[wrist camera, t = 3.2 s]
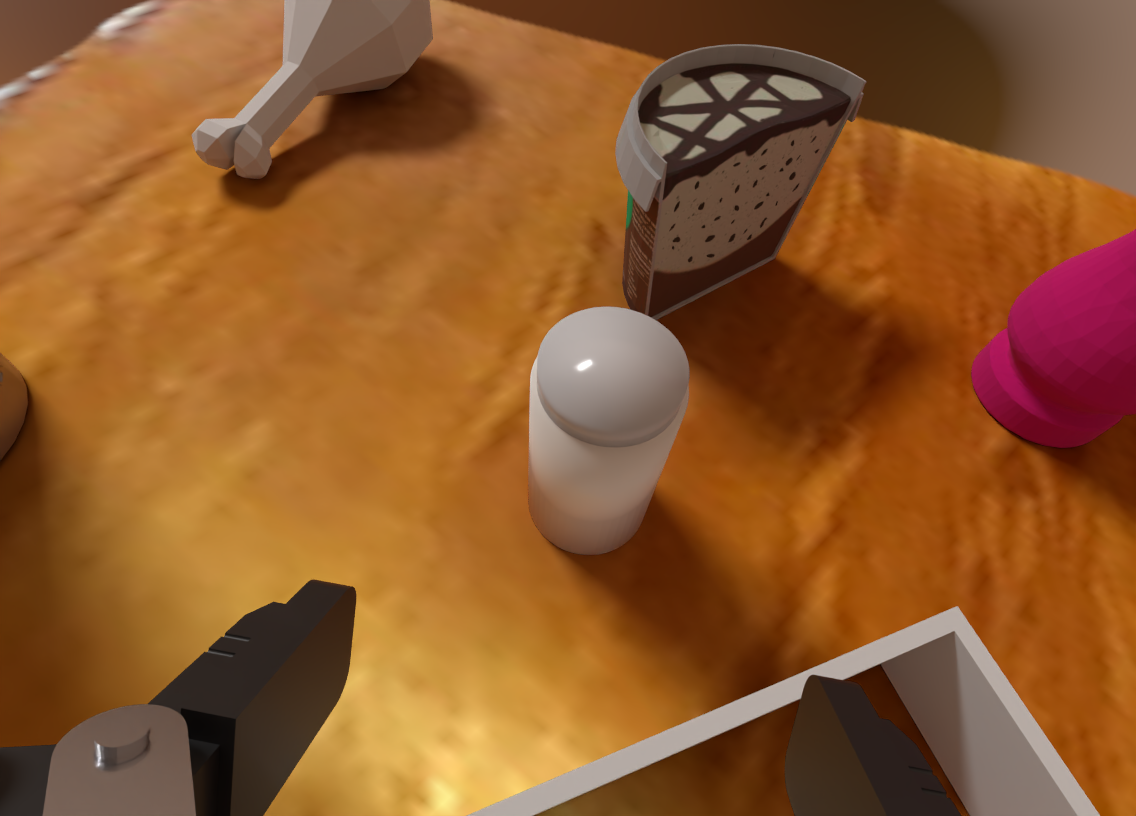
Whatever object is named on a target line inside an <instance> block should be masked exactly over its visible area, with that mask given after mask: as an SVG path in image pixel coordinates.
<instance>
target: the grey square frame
mask: <svg viewBox="0 0 1136 816" xmlns="http://www.w3.org/2000/svg"><path fill="white" fill-rule="evenodd" d="M880 664H881V666H882V668H883V670H884V671H885V673H886V675H887V676H888V678H889V680H890V681H891V683H892V685H893V686H894V688H895V690H896V691H897V693H898V695H899V697H900V698H901V700H902V702H903V703H904V705H905V707H906V708H907V710H908V712H909V713H910V715H911V717H912V719H913V720H914V722H915V724H916V725H917V727H918V729H919V730H920V732H921V734H922V735H923V737H924V739H925V740H926V742H927V744H928V746H929V747H930V749H931V751H932V752H933V754H934V756H935V757H936V759H937V761H938V762H939V764H940V766H941V768H942V769H943V771H944V773H945V774H946V776H947V778H948V779H949V781H950V783H951V784H952V786H953V788H954V789H955V791H956V793H957V795H958V796H959V798H960V800H961V801H962V803H963V805H964V806H965V808H966V810H967V811H968V813H969V815H970V816H1100V815H1099V814H1098V812H1097V811H1096V809H1095V808H1094V806H1093V805H1092V803H1091V802H1090V800H1089V799H1088V797H1087V796H1086V794H1085V793H1084V791H1083V790H1082V789H1081V787H1080V786H1079V784H1078V783H1077V781H1076V780H1075V778H1074V777H1073V775H1072V774H1071V772H1070V771H1069V769H1068V768H1067V766H1066V765H1065V764H1064V762H1063V761H1062V759H1061V758H1060V756H1059V755H1058V753H1057V752H1056V750H1055V749H1054V747H1053V746H1052V744H1051V743H1050V742H1049V740H1048V739H1047V737H1046V736H1045V734H1044V733H1043V731H1042V730H1041V728H1040V727H1039V725H1038V724H1037V722H1036V721H1035V719H1034V718H1033V717H1032V715H1031V714H1030V712H1029V711H1028V709H1027V708H1026V706H1025V705H1024V703H1023V702H1022V700H1021V699H1020V697H1019V696H1018V694H1017V693H1016V692H1015V690H1014V689H1013V687H1012V686H1011V684H1010V683H1009V681H1008V680H1007V678H1006V677H1005V675H1004V674H1003V672H1002V671H1001V670H1000V668H999V667H998V665H997V664H996V662H995V661H994V659H993V658H992V656H991V655H990V653H989V652H988V650H987V649H986V647H985V646H984V645H983V643H982V642H981V640H980V639H979V637H978V636H977V634H976V633H975V631H974V630H973V628H972V627H971V625H970V624H969V622H968V621H967V620H966V618H965V617H964V615H963V614H962V612H961V611H960V609H959V608H958V606H956V607H954V608H952V609H949V610H947V611H945V612H942V613H940V614H938V615H935V616H933V617H931V618H928V619H926V620H924V621H921V622H919V623H917V624H914V625H912V626H910V627H907V628H905V629H903V630H900V631H898V632H896V633H893V634H891V635H889V636H886V637H884V638H882V639H879V640H877V641H874V642H872V643H870V644H867V645H865V646H863V647H860V648H858V649H856V650H853V651H851V652H849V653H846V654H844V655H842V656H839V657H837V658H835V659H832V660H830V661H828V662H825V663H823V664H821V665H818V666H816V667H814V668H811V669H809V670H807V671H804V672H802V673H800V674H797V675H795V676H793V677H790V678H788V679H786V680H783V681H781V682H778V683H776V684H774V685H771V686H769V687H767V688H764V689H762V690H760V691H757V692H755V693H753V694H750V695H748V696H746V697H743V698H741V699H739V700H736V701H734V702H732V703H729V704H727V705H725V706H722V707H720V708H718V709H715V710H713V711H711V712H708V713H706V714H704V715H701V716H699V717H697V718H694V719H692V720H689V721H687V722H685V723H682V724H680V725H678V726H675V727H673V728H671V729H668V730H666V731H664V732H661V733H659V734H657V735H654V736H652V737H650V738H647V739H645V740H643V741H640V742H638V743H636V744H633V745H631V746H629V747H626V748H624V749H622V750H619V751H617V752H615V753H612V754H610V755H608V756H605V757H603V758H601V759H598V760H596V761H593V762H591V763H589V764H586V765H584V766H582V767H579V768H577V769H575V770H572V771H570V772H568V773H565V774H563V775H561V776H558V777H556V778H554V779H551V780H549V781H547V782H544V783H542V784H540V785H537V786H535V787H533V788H530V789H528V790H526V791H523V792H521V793H519V794H516V795H514V796H512V797H509V798H507V799H505V800H502V801H500V802H497V803H495V804H493V805H490V806H488V807H486V808H483V809H481V810H479V811H476V812H474V813H472V814H469V815H467V816H535V815H537V814H540V813H542V812H544V811H546V810H549V809H551V808H553V807H556V806H558V805H560V804H562V803H565V802H567V801H569V800H572V799H574V798H576V797H578V796H581V795H583V794H585V793H588V792H590V791H592V790H594V789H597V788H599V787H601V786H604V785H606V784H608V783H610V782H613V781H615V780H617V779H619V778H622V777H624V776H626V775H629V774H631V773H633V772H635V771H638V770H640V769H642V768H645V767H647V766H649V765H651V764H654V763H656V762H658V761H661V760H663V759H665V758H667V757H670V756H672V755H674V754H677V753H679V752H681V751H683V750H686V749H688V748H690V747H692V746H695V745H697V744H699V743H702V742H704V741H706V740H708V739H711V738H713V737H715V736H718V735H720V734H722V733H724V732H727V731H729V730H731V729H734V728H736V727H738V726H740V725H743V724H745V723H747V722H750V721H752V720H754V719H756V718H759V717H761V716H763V715H766V714H768V713H770V712H772V711H775V710H777V709H779V708H781V707H784V706H786V705H788V704H791V703H793V702H795V701H797V700H800V699H801V696H802V692H803V688H804V685H805V683H806V680H807V679H808V677H809V676H810V675H818V676H824V677H829V678H834V679H840V680H845V679H848V678H850V677H852V676H854V675H857V674H859V673H861V672H864V671H866V670H868V669H870V668H873V667H875V666H877V665H880Z"/></svg>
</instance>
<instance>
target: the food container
mask: <svg viewBox="0 0 1136 816" xmlns="http://www.w3.org/2000/svg"><path fill="white" fill-rule="evenodd" d="M865 83H866V81H865V80H863V79H862V78H860V77H858V76H857V75H855V74H853V73H852V72H850V71H848V70H846V69H844V68H842V67H839V66H837V65H835V64H833V63H830V62H828V61H825V60H822V59H820V58H817V57H814V56H811V55H807V54H804V53H800V52H797V51H792V50H787V49H782V48H777V47H769V46H761V45H743V44H733V45H718V46H711V47H704V48H699V49H696V50H692V51H688V52H685V53H682V54H680V55H678V56H675V57H673V58H670V59H669V60H667V61H666V62H664V63H662V64H661V65H659V66H658V67H657V68H655V69H654V70H653V71H652V72H651V73H650V74H649V75H648V76H647V78H646V79H645V80H644V82H643V83H642V85H641V87H640V88H639V89H638V91H637V92H636V94H635V95H634V97H633V98H632V100H631V103H630V106H629V108H628V111H627V113H626V116H625V119H624V121H623V124H622V126H621V129H620V132H619V135H618V137H617V142H616V160H617V166H618V170H619V172H620V175H621V177H622V180H623V182H624V184H625V186H626V187H627V189H628V202H627V218H626V234H625V250H624V265H623V282H622V283H623V290H624V295H625V298H626V300H627V303H628V305H629V307H630V309H631V310H633V311H636V312H640V313H642V314H644V315H647V316H649V317H651V318H653V319H654V320H657V319H659V318H661V317H663V316H665V315H667V314H669V313H671V312H673V311H675V310H677V309H678V308H680V307H682V306H684V305H686V304H688V303H690V302H692V301H694V300H696V299H698V298H700V297H702V296H704V295H706V294H708V293H710V292H711V291H713V290H715V289H717V288H719V287H721V286H723V285H725V284H727V283H729V282H731V281H733V280H735V279H737V278H739V277H741V276H742V275H744V274H746V273H748V272H750V271H752V270H754V269H756V268H758V267H760V266H762V265H764V264H766V263H768V262H770V261H772V260H773V259H775V257H776V255H777V253H778V252H779V250H780V248H781V246H782V244H783V242H784V240H785V238H786V236H787V234H788V232H789V230H790V229H791V227H792V225H793V223H794V221H795V219H796V217H797V215H798V213H799V211H800V209H801V207H802V206H803V204H804V202H805V200H806V198H807V196H808V194H809V192H810V190H811V188H812V186H813V184H814V182H815V181H816V179H817V177H818V175H819V173H820V171H821V169H822V167H823V165H824V163H825V161H826V159H827V158H828V156H829V154H830V152H831V150H832V148H833V146H834V144H835V142H836V140H837V138H838V136H839V135H840V133H841V131H842V129H843V127H844V125H845V123H846V121H847V119H848V120H849V121H851V122H853V121H854V120H855V117H856V114H857V111H858V109H859V106H860V103H861V100H862V97H863V93H862V90H863V88H864V85H865Z"/></svg>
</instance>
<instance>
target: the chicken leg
mask: <svg viewBox="0 0 1136 816" xmlns="http://www.w3.org/2000/svg"><path fill="white" fill-rule="evenodd" d="M432 39H433V34H432V23H431V12H430V1H429V0H285V5H284V40H283V66H282V67H281V68H280V69H279V71H278V72H277V73H276V74H275V75H274V76H273V77H272V78H271V79H270V80H269V81H268V82H267V84H266V85H265V86H264V87H263V88H262V89H261V90H260V91H259V92H258V93H257V94H256V95H255V97H254V98H253V99H252V100H251V101H250V102H249V103H248V104H247V105H246V106H245V107H244V108H243V110H242V111H241V112H240V113H239V114H238V115H237V116H236V117H235V118H229V119H206V120H205V121H204V122H203V123H202V124H201V125H200V126H199V127H198V128H197V129H196V130H195V132H194V133H193V134H192V138H193V142H194V146H195V150H196V153H197V154H198V155H199V157H200V158H201V159H202V160H203V161H204V162H206V163H207V164H208V165H211V166H215V167H218V168H222V169H226V170H227V169H229V168H231V167H232V166H234V165H235V169H236V172H237V175H239V176H242V177H244V178H251V179H261V178H263V177H264V176H265V175H266V174H267V172H268V170H269V167H270V165H271V163H272V159H271V155H270V151H269V148H270V147H271V146H272V145H273V144H274V142H275V141H276V140H277V139H278V138H279V137H280V136H281V135H282V133H283V132H284V131H285V130H286V129H287V128H288V127H289V125H290V124H291V123H292V122H293V121H294V120H295V119H296V117H297V116H298V115H299V114H300V113H301V112H302V111H303V109H304V108H305V107H306V106H307V105H308V104H309V103H310V101H311V100H312V99H313V98H314V97H315V96H324V95H333V94H342V93H351V92H360V91H369V90H378V89H384V88H387V87H388V86H389V85H391V84H392V83H393V82H395V81H396V80H397V79H398V78H400V77H401V76H402V75H404V74H405V73H406V72H407V71H408V70H409V69H410V67H411V66H412V65H413V63H414V62H415V61H416V60H417V58H418V57H419V56H420V55H421V53H422V52H423V51H424V50H425V48H426V47H427V46H428V44H429V43H430V42H431V41H432Z"/></svg>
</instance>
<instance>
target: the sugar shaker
mask: <svg viewBox="0 0 1136 816" xmlns="http://www.w3.org/2000/svg"><path fill="white" fill-rule="evenodd" d="M688 383H689V364H688V360H687V357H686V354H685V352H684V350H683V347H682V346H681V344H680V343H679V341H678V340H677V338H676V337H675V336H674V335H673V334H672V333H671V332H670V331H669V330H668V329H667V328H666V327H665V326H663V325H662V324H661V323H659V322H658V321H656V320H654V319H653V318H651V317H649V316H647V315H644V314H642V313H640V312H636V311H633V310H629V309H625V308H618V307H595V308H590V309H585V310H582V311H578V312H576V313H573V314H571V315H569V316H567V317H566V318H564V319H562V320H561V321H559V322H558V323H557V324H556V325H555V326H554V327H553V328H552V329H551V330H550V331H549V332H548V333H547V335H546V336H545V338H544V339H543V341H542V343H541V346H540V349H539V352H538V356H537V358H536V360H535V362H534V364H533V368H532V371H531V377H530V418H529V471H528V505H529V511H530V514H531V517H532V519H533V522H534V524H535V525H536V527H537V528H538V530H539V531H540V532H541V534H542V535H543V536H544V537H545V538H546V539H547V540H549V541H550V542H551V543H553V544H554V545H555V546H557V547H559V548H561V549H563V550H566V551H568V552H572V553H576V554H582V555H597V554H603V553H607V552H610V551H612V550H615V549H617V548H619V547H620V546H622V545H624V544H625V543H626V542H627V541H629V540H630V539H631V538H632V537H633V536H634V534H635V533H636V532H637V530H638V529H639V527H640V525H641V523H642V520H643V518H644V515H645V513H646V510H647V508H648V505H649V503H650V500H651V498H652V495H653V493H654V490H655V488H656V485H657V483H658V480H659V477H660V475H661V472H662V470H663V467H664V465H665V462H666V460H667V457H668V455H669V452H670V450H671V447H672V445H673V442H674V440H675V437H676V434H677V432H678V429H679V427H680V424H681V422H682V419H683V417H684V414H685V411H686V408H687V405H688V399H689V387H688Z"/></svg>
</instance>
